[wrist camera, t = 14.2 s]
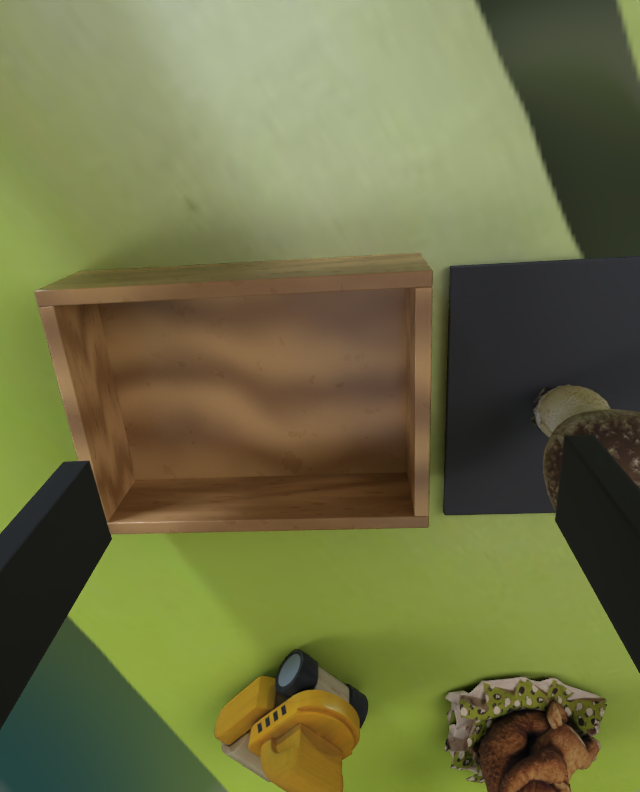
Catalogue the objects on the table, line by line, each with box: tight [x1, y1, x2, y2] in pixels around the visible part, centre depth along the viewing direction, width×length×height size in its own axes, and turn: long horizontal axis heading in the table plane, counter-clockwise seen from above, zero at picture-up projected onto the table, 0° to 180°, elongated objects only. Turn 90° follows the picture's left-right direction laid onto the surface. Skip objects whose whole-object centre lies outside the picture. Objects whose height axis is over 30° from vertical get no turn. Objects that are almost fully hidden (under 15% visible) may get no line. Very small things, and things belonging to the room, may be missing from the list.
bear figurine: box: [444, 675, 607, 792], centre depth 50 cm, size 14×15×12 cm
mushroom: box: [531, 384, 640, 511], centre depth 35 cm, size 9×9×15 cm
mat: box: [443, 256, 640, 515], centre depth 42 cm, size 20×16×1 cm
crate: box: [35, 253, 433, 534], centre depth 40 cm, size 18×24×6 cm
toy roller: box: [215, 649, 368, 792], centre depth 51 cm, size 9×14×10 cm, turn 137°
